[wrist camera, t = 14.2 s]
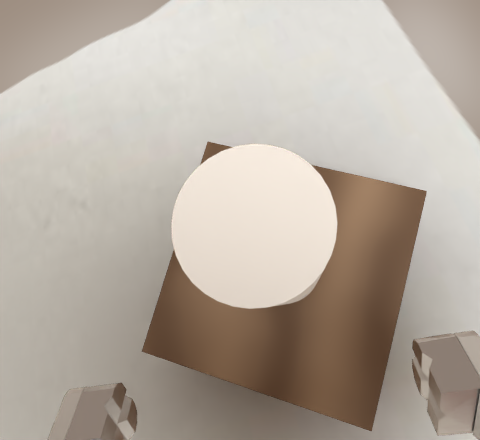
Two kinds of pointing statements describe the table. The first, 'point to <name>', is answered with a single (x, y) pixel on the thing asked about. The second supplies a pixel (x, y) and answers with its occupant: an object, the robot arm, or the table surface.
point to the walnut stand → (307, 311)
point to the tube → (254, 226)
